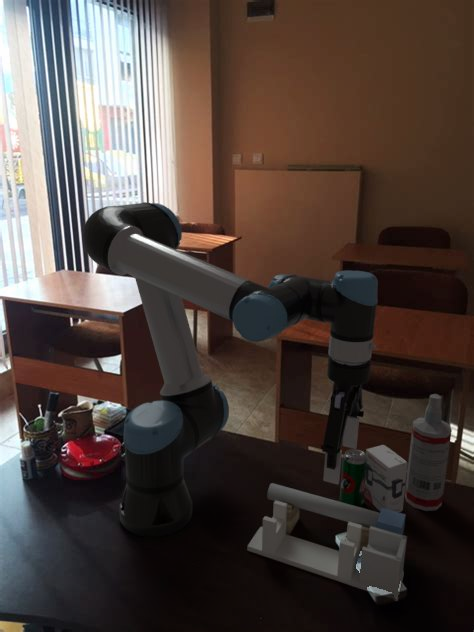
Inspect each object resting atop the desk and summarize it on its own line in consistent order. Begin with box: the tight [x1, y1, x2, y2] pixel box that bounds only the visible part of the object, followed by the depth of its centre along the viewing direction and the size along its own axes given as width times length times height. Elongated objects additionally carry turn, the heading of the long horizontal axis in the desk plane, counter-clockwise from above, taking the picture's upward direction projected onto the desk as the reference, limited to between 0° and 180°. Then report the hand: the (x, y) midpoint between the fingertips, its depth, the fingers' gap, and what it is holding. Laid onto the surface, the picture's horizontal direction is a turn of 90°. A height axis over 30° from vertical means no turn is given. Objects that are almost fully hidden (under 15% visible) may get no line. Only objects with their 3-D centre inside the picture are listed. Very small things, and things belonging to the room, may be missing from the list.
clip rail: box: [246, 500, 408, 602], centre depth 99 cm, size 28×7×8 cm, turn 64°
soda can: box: [339, 448, 367, 508], centre depth 116 cm, size 5×5×12 cm
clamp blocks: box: [286, 504, 370, 551], centre depth 106 cm, size 19×6×6 cm, turn 64°
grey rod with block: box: [266, 482, 407, 535], centre depth 105 cm, size 26×4×3 cm, turn 64°
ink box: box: [364, 444, 408, 513], centre depth 116 cm, size 8×5×12 cm, turn 23°
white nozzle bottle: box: [404, 393, 453, 512], centre depth 115 cm, size 8×8×25 cm
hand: (340, 463), depth 102 cm, fingers open, 13 cm apart
